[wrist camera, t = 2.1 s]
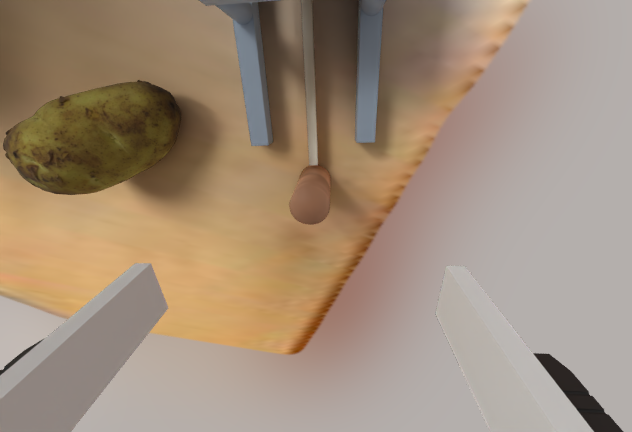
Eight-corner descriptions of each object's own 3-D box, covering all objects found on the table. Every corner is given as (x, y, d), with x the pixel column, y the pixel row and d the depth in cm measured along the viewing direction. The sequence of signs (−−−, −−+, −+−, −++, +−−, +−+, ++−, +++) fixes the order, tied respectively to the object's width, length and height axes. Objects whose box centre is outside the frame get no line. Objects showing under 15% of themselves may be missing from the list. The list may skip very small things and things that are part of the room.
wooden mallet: (292, 194, 27) (280, 224, 20) (261, -171, 16) (215, -344, 10) (339, 193, 26) (341, 224, 20) (339, -181, 16) (344, -369, 9)
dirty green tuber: (209, 167, 26) (161, 194, 19) (100, 181, 28) (18, 211, 20) (180, 78, 23) (108, 70, 15) (57, 99, 24) (-60, 101, 17)
